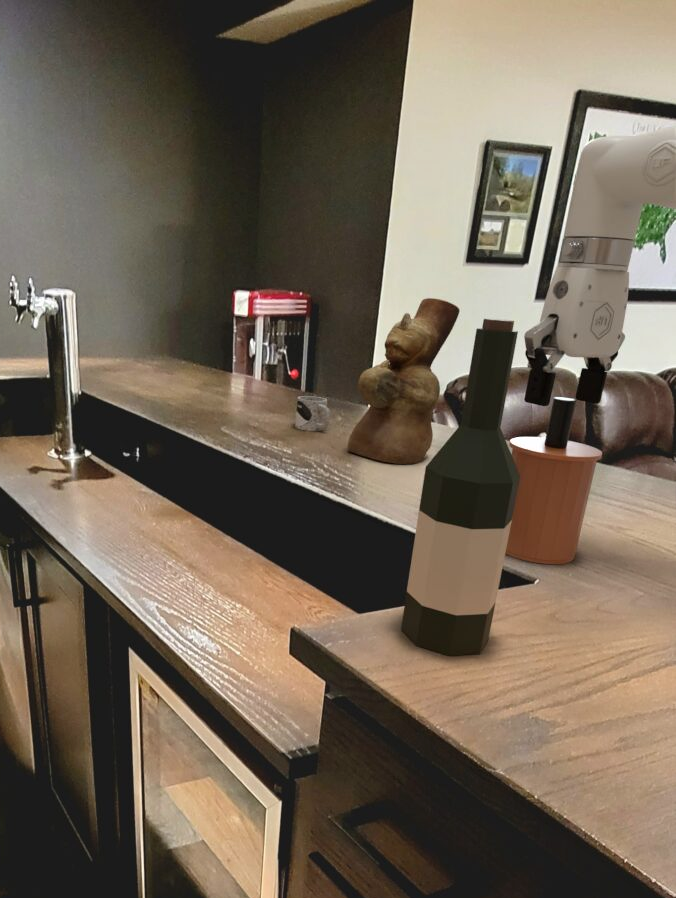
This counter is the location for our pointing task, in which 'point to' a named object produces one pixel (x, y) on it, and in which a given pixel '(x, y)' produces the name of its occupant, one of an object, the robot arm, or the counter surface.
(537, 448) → the shaker lid
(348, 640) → the counter surface
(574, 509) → the cup
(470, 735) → the counter surface
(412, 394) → the ceramic vessel
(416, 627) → the wine bottle
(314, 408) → the mug
